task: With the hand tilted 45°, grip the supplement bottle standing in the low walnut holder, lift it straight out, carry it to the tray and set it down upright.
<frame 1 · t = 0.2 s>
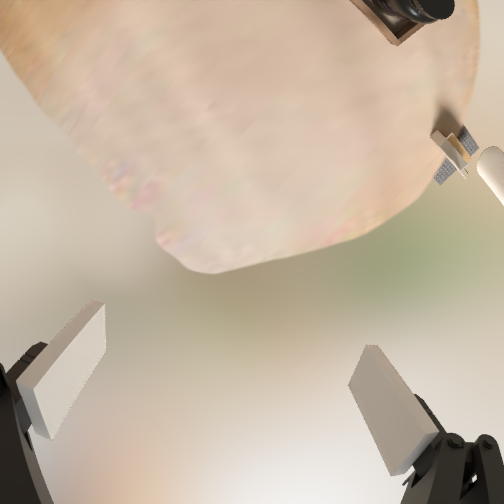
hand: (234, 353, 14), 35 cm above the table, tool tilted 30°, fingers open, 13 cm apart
cylindrical container: (489, 161, 40), on the table
architectural model: (440, 141, 40), on the table
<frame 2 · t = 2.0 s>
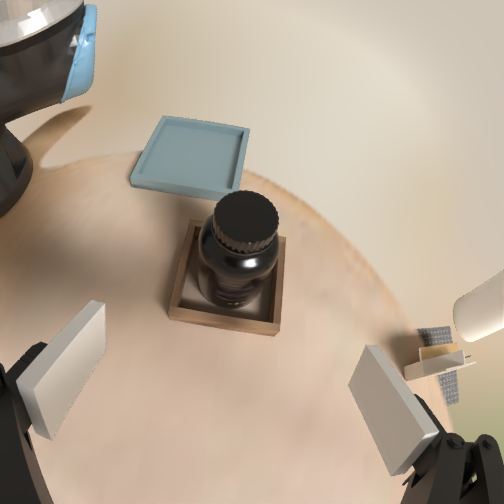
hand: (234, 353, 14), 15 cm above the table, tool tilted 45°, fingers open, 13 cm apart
tray: (194, 158, 39), on the table
holder: (229, 280, 32), on the table
cylindrical container: (466, 319, 35), on the table
supplement bottle: (229, 281, 32), resting in holder
architectural model: (417, 371, 30), on the table
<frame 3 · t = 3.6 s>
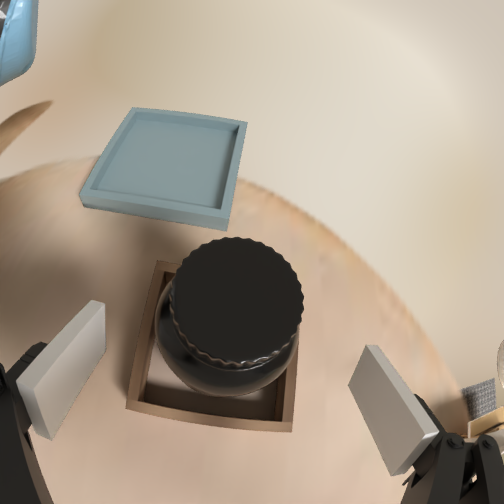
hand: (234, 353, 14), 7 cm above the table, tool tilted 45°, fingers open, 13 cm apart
tray: (170, 164, 28), on the table
holder: (216, 352, 20), on the table
supplement bottle: (216, 352, 21), resting in holder
architectural model: (458, 440, 19), on the table
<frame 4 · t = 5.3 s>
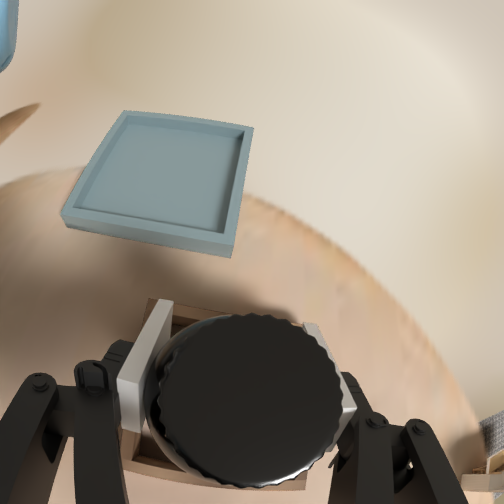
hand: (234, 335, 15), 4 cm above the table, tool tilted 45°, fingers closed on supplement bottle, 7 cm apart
tray: (165, 176, 25), on the table
holder: (220, 402, 17), on the table
supplement bottle: (220, 402, 17), resting in holder, touching gripper
architectural model: (474, 472, 16), on the table
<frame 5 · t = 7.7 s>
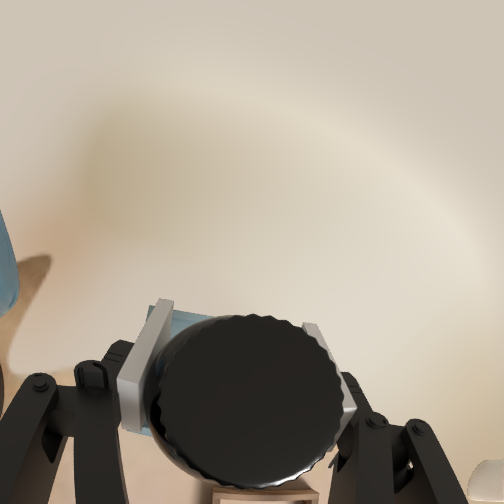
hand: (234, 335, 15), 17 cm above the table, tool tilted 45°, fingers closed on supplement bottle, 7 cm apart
tray: (203, 381, 29), on the table
cylindrical container: (479, 480, 24), on the table
supplement bottle: (220, 402, 17), point 12 cm above the table, touching gripper
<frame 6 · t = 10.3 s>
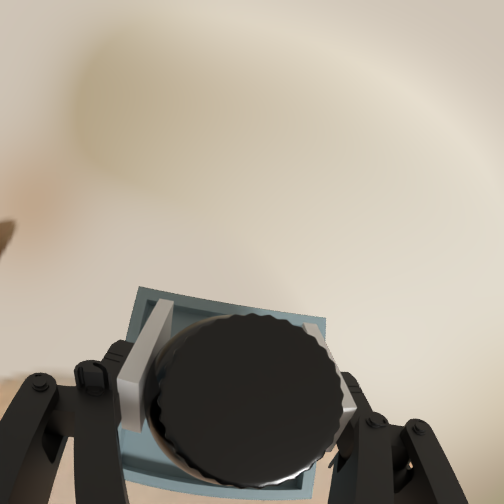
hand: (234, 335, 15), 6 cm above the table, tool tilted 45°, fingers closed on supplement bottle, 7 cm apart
tray: (218, 402, 19), on the table
supplement bottle: (220, 402, 17), point 2 cm above the table, touching gripper
when the fingers open (6 cm above the table, at t = 10.3 s): supplement bottle drops 1 cm, resting on tray.
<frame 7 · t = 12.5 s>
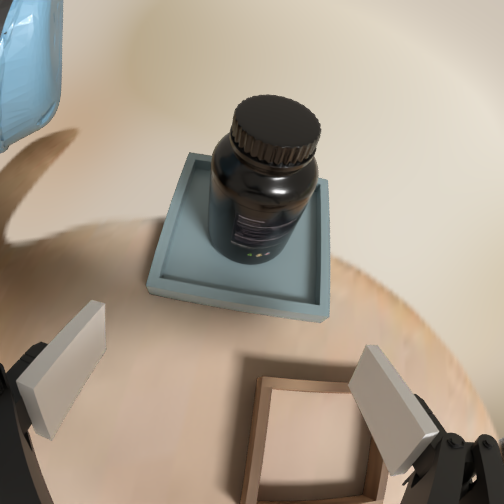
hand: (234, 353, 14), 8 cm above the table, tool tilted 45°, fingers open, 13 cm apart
tray: (247, 234, 26), on the table
holder: (318, 448, 18), on the table
supplement bottle: (247, 232, 25), resting on tray
architectural model: (495, 478, 17), on the table
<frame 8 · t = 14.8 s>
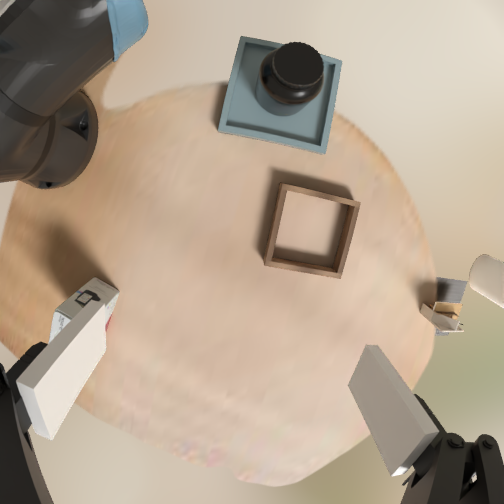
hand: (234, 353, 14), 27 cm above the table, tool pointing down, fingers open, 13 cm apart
ink box: (100, 305, 41), on the table
tray: (281, 94, 35), on the table
holder: (309, 230, 40), on the table
cylindrical container: (480, 272, 43), on the table
supplement bottle: (280, 93, 34), resting on tray
architectural model: (430, 307, 45), on the table
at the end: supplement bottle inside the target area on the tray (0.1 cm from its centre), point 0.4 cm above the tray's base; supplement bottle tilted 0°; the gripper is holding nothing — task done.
